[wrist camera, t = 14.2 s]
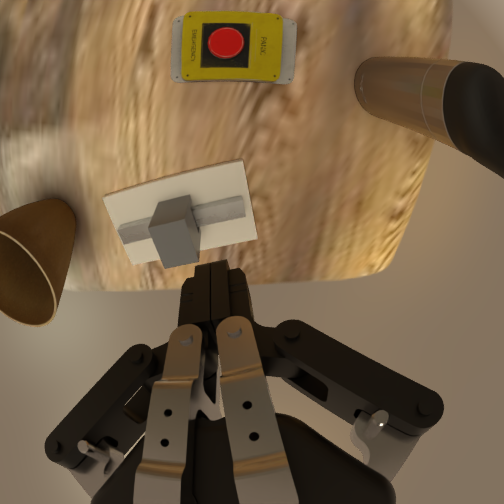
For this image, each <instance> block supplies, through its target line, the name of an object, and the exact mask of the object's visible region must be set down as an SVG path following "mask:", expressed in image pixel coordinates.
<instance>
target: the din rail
mask: <svg viewBox="0 0 504 504" xmlns="http://www.w3.org/2000/svg"><path fill="white" fill-rule="evenodd" d="M191 210H192V214H193V217H194V220H195V223H196V227H201V226H205V225H210V224H214V223H219V222H224V221H228V220H233V219H238V218H243V217H246V213H245V208H244V204H243V199H242V196H237V197H232V198H227V199H223V200H218V201H214V202H209V203H205V204H200V205H196V206H192V207H191ZM151 219H152V216H151V217H147V218H144V219H140V220H136V221H133V222H129V223H125V224H122V225H120V226H119V228H118V229H117V231H118V233H119V236H120V238H121V240H122V242H123V244H124V245H125V244H129V243H133V242H137V241H141V240H145V239H149V238H152V237H151V235H150V233H149V230H148V226H149V224H150V221H151Z"/></svg>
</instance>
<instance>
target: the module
mask: <svg viewBox="0 0 504 504" xmlns="http://www.w3.org/2000/svg"><path fill="white" fill-rule="evenodd" d="M191 203H192V200H191V196H190V194H189V195H185V196H181V197H177V198H173V199H169V200H165V201H161V202H158V204H157V207H156V209H155V211H154V214H153V216H152V219H151V221H150V224H149V226H148V230H149V233H150V235H151V237H152V240H153V242H154V245H155V247H156V250H157V252H158V254H159V257H160V259H161V261H162V264H163V266H164V268H165V269H166V268H171V267H176V266H181V265H186V264H191V263H195V262H199V255H200V241H201V230H200V227H196V223H195V220H194V217H193V214H192V210H191Z"/></svg>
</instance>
